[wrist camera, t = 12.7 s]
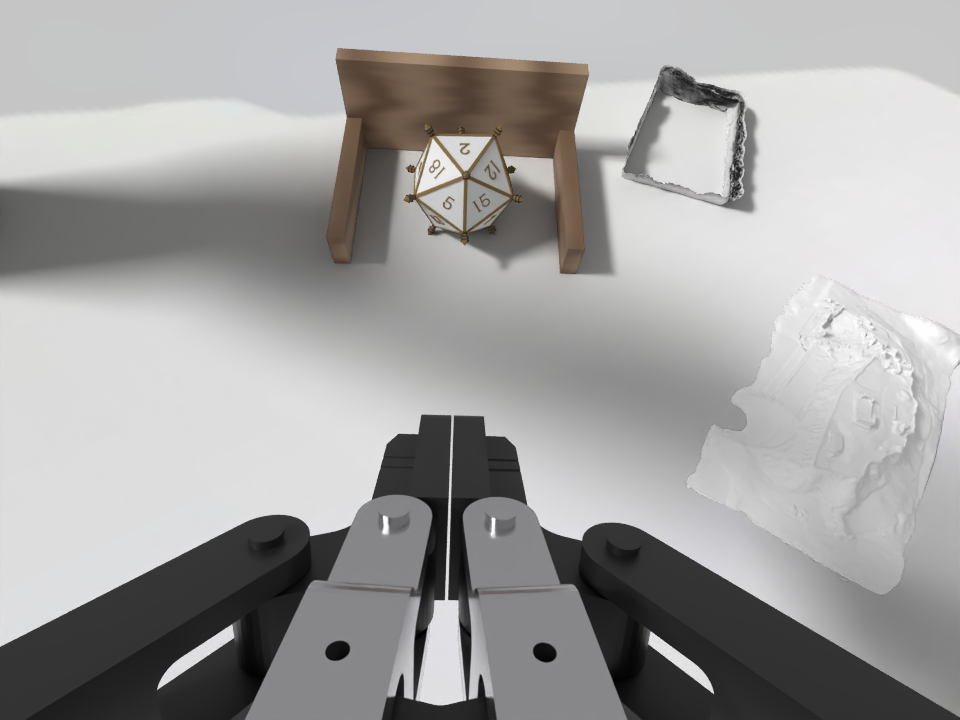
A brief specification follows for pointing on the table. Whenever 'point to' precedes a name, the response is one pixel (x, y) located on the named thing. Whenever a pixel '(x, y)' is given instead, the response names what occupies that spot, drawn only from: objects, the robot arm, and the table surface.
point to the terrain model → (837, 431)
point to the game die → (462, 181)
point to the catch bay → (458, 123)
